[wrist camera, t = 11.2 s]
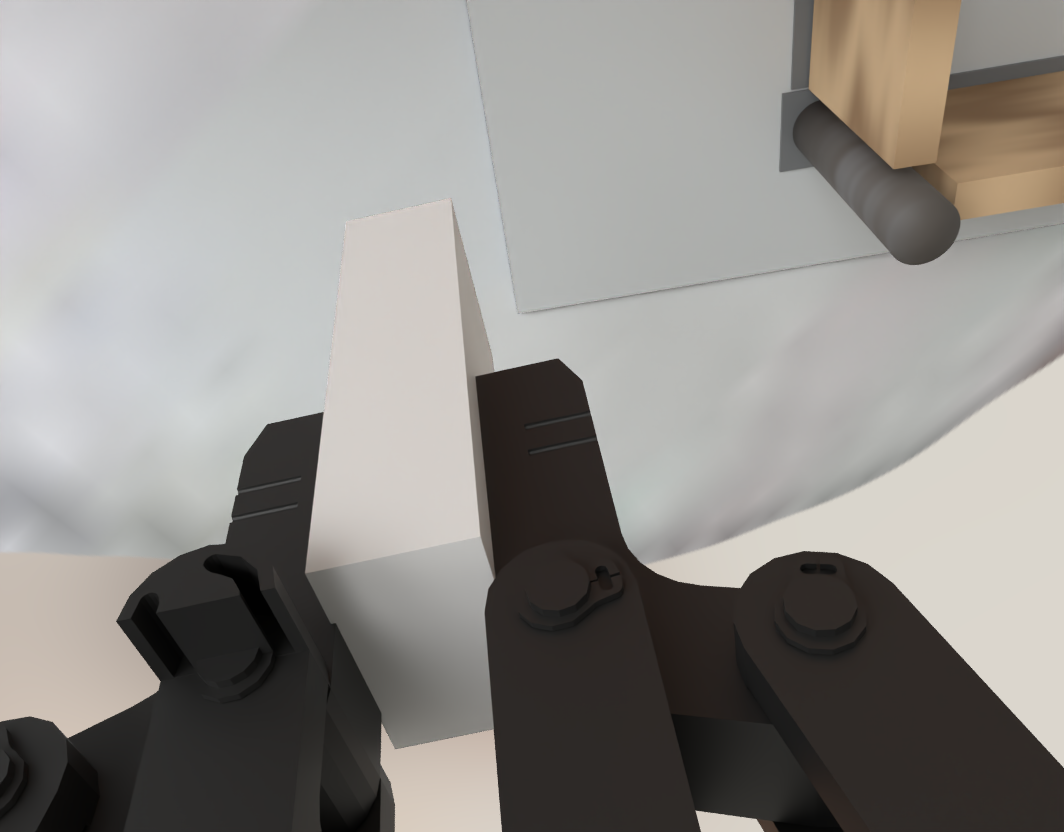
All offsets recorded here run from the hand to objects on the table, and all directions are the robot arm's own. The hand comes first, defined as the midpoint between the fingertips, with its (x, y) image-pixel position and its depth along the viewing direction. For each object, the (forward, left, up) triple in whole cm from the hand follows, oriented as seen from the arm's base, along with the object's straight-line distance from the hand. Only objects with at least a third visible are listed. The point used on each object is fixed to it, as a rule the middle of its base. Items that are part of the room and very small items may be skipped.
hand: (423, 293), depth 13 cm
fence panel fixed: (+6, +18, -19) cm, 27 cm away
